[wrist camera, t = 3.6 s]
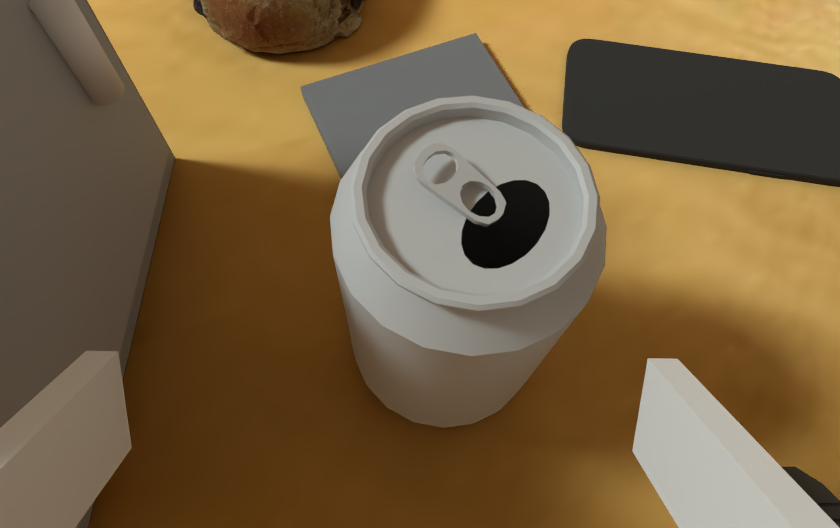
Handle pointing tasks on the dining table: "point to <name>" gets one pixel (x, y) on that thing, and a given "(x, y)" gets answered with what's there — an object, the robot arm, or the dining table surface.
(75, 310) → the cabinet
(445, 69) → the mat
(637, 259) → the dining table surface
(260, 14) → the bread roll
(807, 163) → the phone
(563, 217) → the can
